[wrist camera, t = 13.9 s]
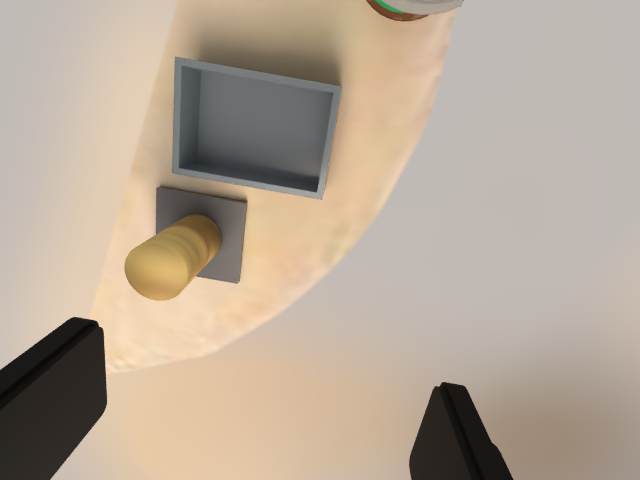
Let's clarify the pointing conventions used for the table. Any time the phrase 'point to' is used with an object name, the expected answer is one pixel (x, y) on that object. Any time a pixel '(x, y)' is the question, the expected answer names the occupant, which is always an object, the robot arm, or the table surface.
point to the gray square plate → (222, 212)
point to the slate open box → (253, 128)
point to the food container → (412, 8)
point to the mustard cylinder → (173, 257)
